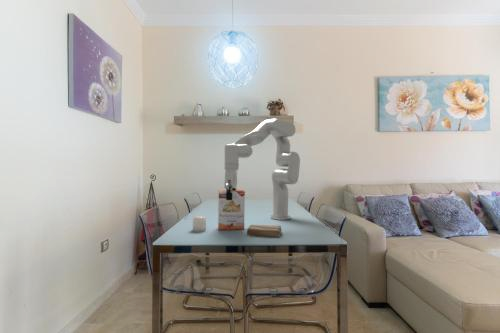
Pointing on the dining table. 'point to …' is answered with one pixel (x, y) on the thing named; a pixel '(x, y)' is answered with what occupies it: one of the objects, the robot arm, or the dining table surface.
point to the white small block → (199, 223)
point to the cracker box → (231, 210)
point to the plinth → (264, 230)
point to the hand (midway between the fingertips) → (231, 198)
